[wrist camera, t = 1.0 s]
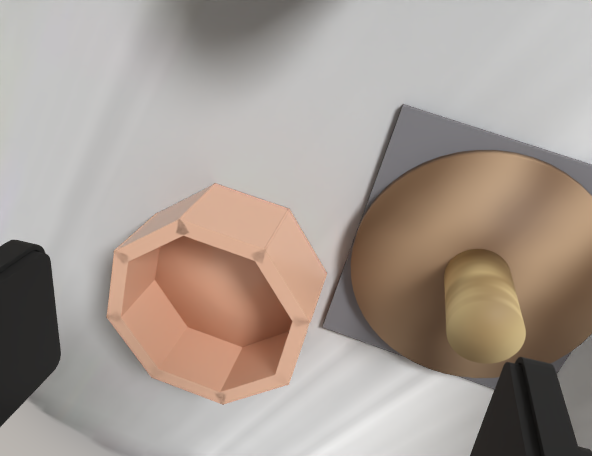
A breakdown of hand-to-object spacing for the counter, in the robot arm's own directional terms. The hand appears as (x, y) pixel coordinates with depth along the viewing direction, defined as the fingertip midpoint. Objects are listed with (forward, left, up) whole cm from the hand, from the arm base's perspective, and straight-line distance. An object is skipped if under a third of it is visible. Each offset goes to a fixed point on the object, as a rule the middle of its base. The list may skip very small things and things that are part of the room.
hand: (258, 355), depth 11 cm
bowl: (+6, +15, -24) cm, 29 cm away
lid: (-10, +8, -24) cm, 27 cm away
